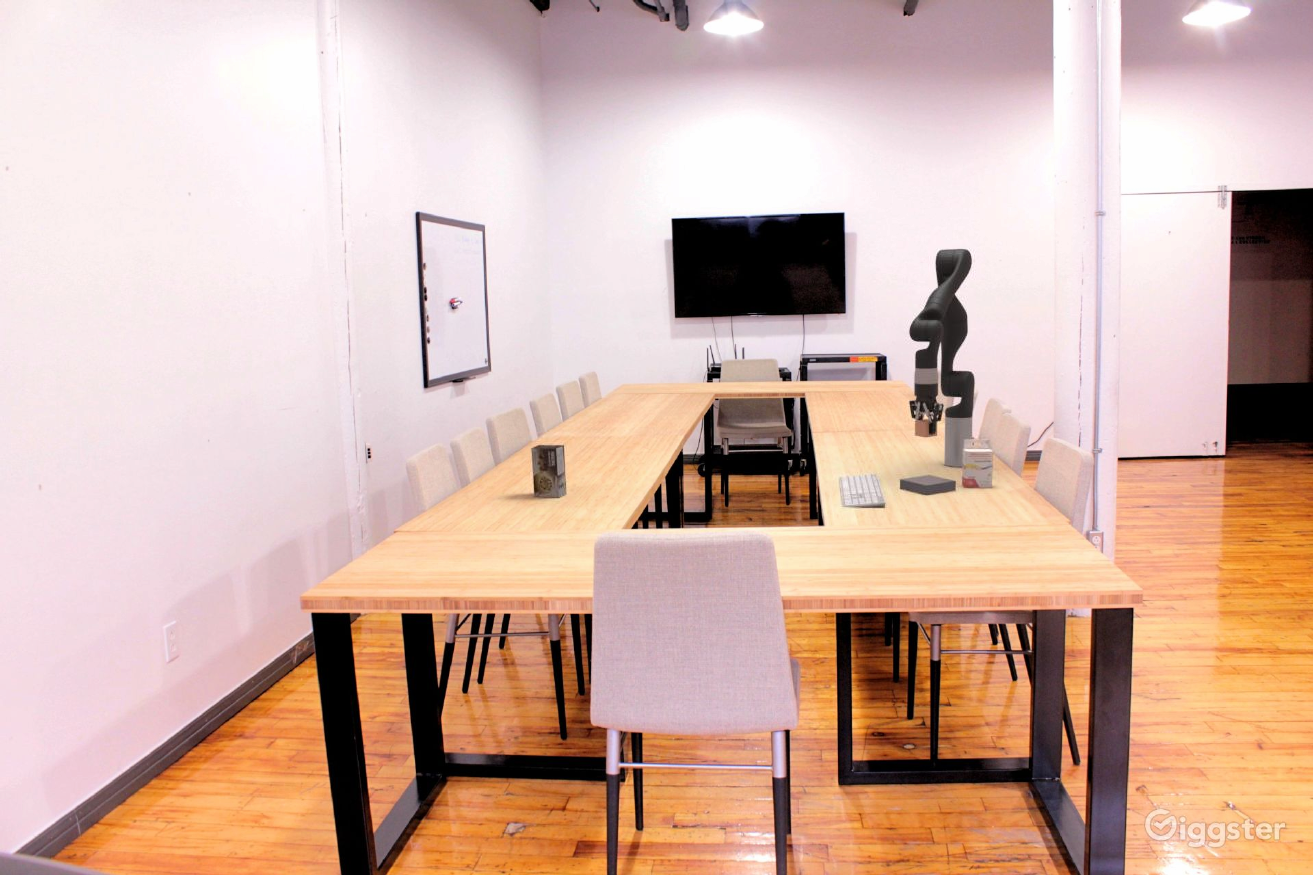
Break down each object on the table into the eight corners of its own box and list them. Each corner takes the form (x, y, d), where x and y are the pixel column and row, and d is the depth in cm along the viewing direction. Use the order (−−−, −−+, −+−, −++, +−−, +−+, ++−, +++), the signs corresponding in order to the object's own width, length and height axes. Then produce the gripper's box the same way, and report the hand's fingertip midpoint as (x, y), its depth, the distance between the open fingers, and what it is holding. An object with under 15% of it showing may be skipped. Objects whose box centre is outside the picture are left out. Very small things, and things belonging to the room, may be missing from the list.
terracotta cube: (926, 433, 336) (926, 419, 335) (937, 435, 332) (937, 420, 331) (914, 435, 334) (914, 420, 333) (925, 437, 330) (925, 422, 329)
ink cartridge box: (964, 487, 319) (965, 441, 317) (961, 484, 324) (962, 439, 322) (992, 487, 319) (993, 441, 316) (989, 484, 323) (990, 438, 321)
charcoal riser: (928, 484, 327) (928, 474, 326) (955, 490, 316) (955, 480, 316) (899, 488, 321) (899, 479, 321) (926, 495, 311) (926, 485, 310)
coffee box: (567, 493, 329) (565, 444, 326) (559, 498, 323) (556, 448, 320) (541, 492, 332) (539, 444, 329) (533, 496, 326) (530, 447, 323)
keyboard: (839, 480, 341) (839, 473, 340) (876, 480, 339) (876, 473, 338) (842, 509, 297) (842, 501, 297) (885, 509, 295) (885, 501, 295)
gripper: (950, 382, 325) (950, 434, 328) (919, 378, 338) (919, 429, 341) (932, 384, 322) (932, 437, 325) (902, 380, 334) (902, 431, 337)
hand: (926, 432), depth 333 cm, fingers closed on terracotta cube, 5 cm apart
